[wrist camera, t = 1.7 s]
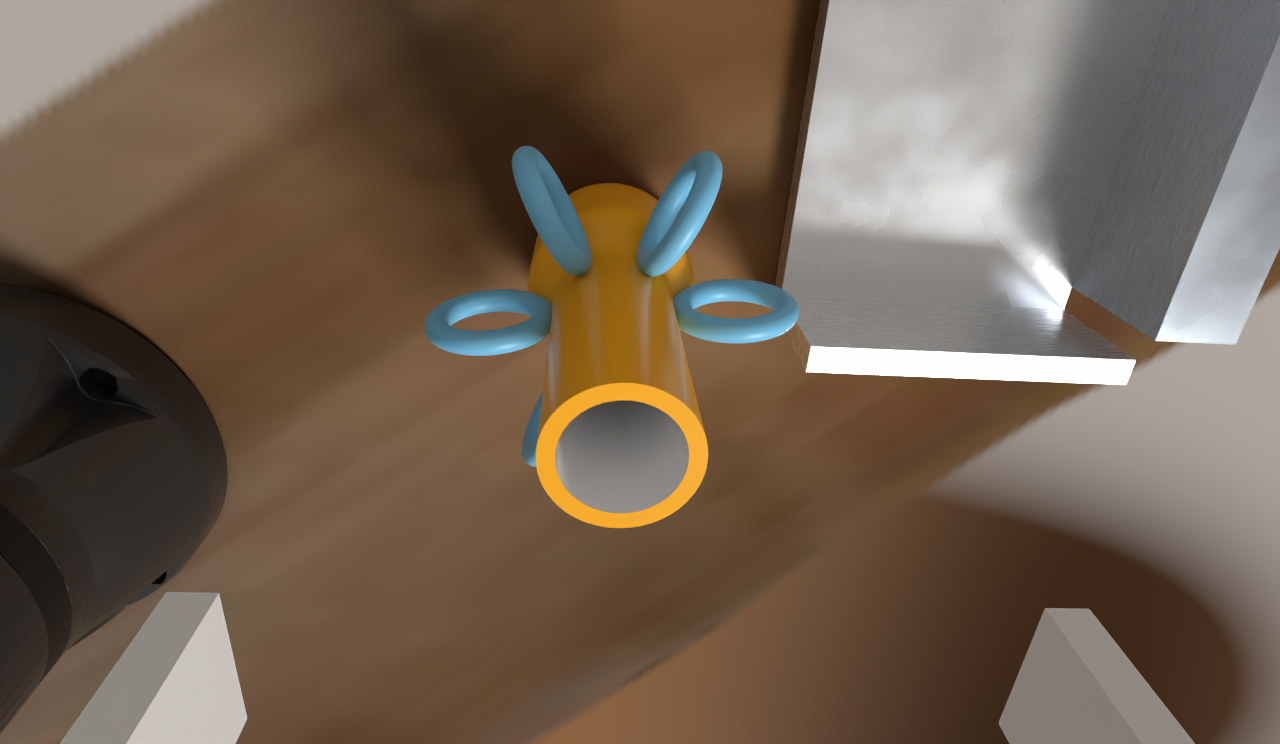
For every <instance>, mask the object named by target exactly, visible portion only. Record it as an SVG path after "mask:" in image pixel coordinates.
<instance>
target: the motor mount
mask: <svg viewBox="0 0 1280 744" xmlns="http://www.w3.org/2000/svg"><path fill="white" fill-rule="evenodd" d="M1279 248H1280V0H820V4H819V11H818V17H817V23H816V29H815V36H814V42H813V48H812V55H811V61H810V67H809V73H808V80H807V86H806V92H805V99H804V105H803V111H802V118H801V124H800V130H799V136H798V143H797V149H796V155H795V162H794V168H793V174H792V180H791V187H790V193H789V199H788V206H787V212H786V218H785V224H784V231H783V237H782V243H781V250H780V256H779V262H778V269H777V275H776V281H775V286H776V287H779V288H781V289H783V290H785V291H786V292H788V293H789V294H790V295H791V296H793V298H794V299H795V300H796V302H797V304H798V307H799V316H798V319H797V321H796V323H795V324H794V326H793V327H792V328H791V329H789V330H788V331H787V332H785V334H786V336H787V338H788V340H789V341H790V343H791V345H792V347H793V349H794V351H795V352H796V354H797V356H798V358H799V360H800V362H801V363H802V365H803V367H804V369H805V371H806V372H820V373H845V374H870V375H895V376H920V377H945V378H970V379H995V380H1020V381H1045V382H1070V383H1095V384H1120V385H1126V384H1127V382H1128V379H1129V377H1130V374H1131V372H1132V369H1133V367H1134V364H1135V362H1136V360H1135V359H1134V358H1132V357H1131V356H1129V355H1128V354H1126V353H1125V352H1124V351H1122V350H1121V349H1119V348H1118V347H1116V346H1115V345H1114V344H1112V343H1111V342H1109V341H1108V340H1106V339H1105V338H1104V337H1102V336H1101V335H1099V334H1098V333H1096V332H1095V331H1094V330H1092V329H1091V328H1089V327H1088V326H1087V325H1085V324H1084V323H1082V322H1081V321H1079V320H1078V319H1077V318H1075V317H1074V316H1072V315H1071V314H1069V313H1068V312H1067V311H1065V310H1064V308H1065V305H1066V302H1067V299H1068V296H1069V293H1070V290H1071V288H1074V289H1075V290H1077V291H1079V292H1080V293H1082V294H1083V295H1085V296H1086V297H1088V298H1089V299H1091V300H1093V301H1094V302H1096V303H1097V304H1099V305H1100V306H1102V307H1103V308H1105V309H1107V310H1108V311H1110V312H1111V313H1113V314H1114V315H1116V316H1117V317H1119V318H1121V319H1122V320H1124V321H1125V322H1127V323H1128V324H1130V325H1131V326H1133V327H1135V328H1136V329H1138V330H1139V331H1141V332H1142V333H1144V334H1145V335H1147V336H1149V337H1150V338H1152V339H1153V340H1155V341H1170V342H1192V343H1214V344H1236V342H1237V340H1238V338H1239V335H1240V333H1241V331H1242V329H1243V327H1244V325H1245V322H1246V320H1247V318H1248V316H1249V314H1250V312H1251V309H1252V307H1253V305H1254V303H1255V301H1256V299H1257V296H1258V294H1259V292H1260V290H1261V288H1262V285H1263V283H1264V281H1265V279H1266V277H1267V275H1268V272H1269V270H1270V268H1271V266H1272V264H1273V261H1274V259H1275V257H1276V255H1277V253H1278V251H1279Z"/></svg>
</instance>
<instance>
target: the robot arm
mask: <svg viewBox="0 0 1280 744" xmlns="http://www.w3.org/2000/svg"><path fill="white" fill-rule="evenodd" d="M226 489H227V462H226V455H225V450H224V446H223V442H222V439H221V436H220V433H219V430H218V428H217V426H216V423H215V421H214V419H213V417H212V415H211V413H210V411H209V409H208V408H207V406H206V404H205V403H204V401H203V400H202V398H201V397H200V395H199V394H198V392H197V391H196V390H195V388H194V387H193V386H192V384H191V383H190V382H189V381H188V379H187V378H186V377H185V376H184V375H183V374H182V373H181V372H180V370H179V369H178V368H177V367H176V366H175V365H174V364H173V363H172V362H171V361H170V360H169V359H168V358H166V357H165V356H164V355H163V354H162V353H161V352H160V351H158V350H157V349H156V348H155V347H154V346H152V345H151V344H150V343H149V342H147V341H146V340H145V339H143V338H142V337H141V336H139V335H138V334H136V333H135V332H133V331H132V330H130V329H129V328H127V327H125V326H124V325H122V324H120V323H119V322H117V321H115V320H113V319H111V318H110V317H108V316H106V315H104V314H102V313H100V312H98V311H96V310H93V309H91V308H89V307H87V306H84V305H82V304H79V303H77V302H74V301H72V300H69V299H66V298H63V297H60V296H57V295H53V294H50V293H46V292H42V291H38V290H33V289H28V288H23V287H16V286H9V285H0V734H1V733H2V732H3V730H4V729H5V728H6V727H7V725H8V724H9V723H10V721H11V720H12V719H13V718H14V716H15V715H16V714H17V712H18V711H19V710H20V708H21V707H22V706H23V705H24V703H25V702H26V701H27V699H28V698H29V697H30V696H31V694H32V693H33V692H34V690H35V689H36V687H37V686H38V685H39V684H40V682H41V681H42V680H43V679H44V677H45V676H46V675H47V674H48V672H49V671H50V670H51V669H52V667H53V666H54V665H55V664H56V662H57V661H58V660H59V658H60V657H61V656H62V655H63V653H64V652H65V651H66V650H68V649H69V648H71V647H72V646H74V645H75V644H77V643H78V642H80V641H81V640H83V639H84V638H86V637H87V636H89V635H90V634H92V633H93V632H95V631H96V630H97V629H99V628H100V627H102V626H103V625H104V624H106V623H107V622H109V621H110V620H111V619H113V618H114V617H115V616H116V615H117V614H119V613H120V612H121V611H122V610H123V609H124V608H125V607H126V606H127V605H129V604H132V603H134V602H137V601H138V600H140V599H142V598H144V597H146V596H148V595H149V594H151V593H153V592H154V591H156V590H157V589H159V588H160V587H161V586H163V585H164V584H165V583H167V582H168V581H169V580H170V579H172V578H173V577H174V576H175V575H176V574H177V573H178V572H179V571H180V570H181V569H182V568H183V567H184V566H185V565H186V564H187V563H188V561H189V560H190V559H191V557H192V556H193V555H194V553H195V552H196V550H197V549H198V548H199V546H200V545H201V543H202V542H203V540H204V539H205V538H206V536H207V535H208V533H209V532H210V530H211V529H212V527H213V526H214V524H215V522H216V521H217V518H218V516H219V514H220V512H221V509H222V506H223V503H224V499H225V495H226ZM246 720H247V715H246V711H245V706H244V702H243V697H242V693H241V689H240V684H239V680H238V675H237V671H236V666H235V662H234V658H233V653H232V649H231V644H230V640H229V635H228V631H227V627H226V622H225V618H224V613H223V609H222V604H221V600H220V596H219V593H189V592H166V593H165V595H164V596H163V598H162V599H161V600H160V602H159V603H158V605H157V606H156V608H155V609H154V610H153V612H152V613H151V615H150V616H149V617H148V619H147V620H146V622H145V623H144V625H143V626H142V627H141V629H140V630H139V632H138V633H137V635H136V636H135V637H134V639H133V640H132V642H131V643H130V645H129V646H128V647H127V649H126V650H125V652H124V653H123V655H122V656H121V657H120V659H119V660H118V662H117V663H116V664H115V666H114V667H113V669H112V670H111V672H110V673H109V674H108V676H107V677H106V679H105V680H104V682H103V683H102V684H101V686H100V687H99V689H98V690H97V692H96V693H95V694H94V696H93V697H92V699H91V700H90V702H89V703H88V704H87V706H86V707H85V709H84V710H83V711H82V713H81V714H80V716H79V717H78V719H77V720H76V721H75V723H74V724H73V726H72V727H71V729H70V730H69V731H68V733H67V734H66V736H65V737H64V739H63V740H62V741H61V743H60V744H235V743H236V741H237V739H238V737H239V735H240V733H241V731H242V729H243V726H244V724H245V722H246ZM999 725H1000V727H1001V729H1002V730H1003V732H1004V734H1005V736H1006V738H1007V740H1008V742H1009V743H1010V744H1195V743H1194V742H1193V741H1192V739H1191V738H1190V737H1189V736H1188V734H1187V733H1186V732H1185V731H1184V729H1183V728H1182V727H1181V726H1180V724H1179V723H1178V722H1177V720H1176V719H1175V718H1174V716H1173V715H1172V714H1171V713H1170V711H1169V710H1168V709H1167V708H1166V706H1165V705H1164V704H1163V702H1162V701H1161V700H1160V699H1159V697H1158V696H1157V695H1156V693H1155V692H1154V691H1153V690H1152V688H1151V687H1150V686H1149V685H1148V683H1147V682H1146V681H1145V679H1144V678H1143V677H1142V676H1141V674H1140V673H1139V672H1138V671H1137V669H1136V668H1135V667H1134V665H1133V664H1132V663H1131V662H1130V660H1129V659H1128V658H1127V656H1126V655H1125V654H1124V653H1123V651H1122V650H1121V649H1120V648H1119V646H1118V645H1117V644H1116V642H1115V641H1114V640H1113V639H1112V637H1111V636H1110V635H1109V633H1108V632H1107V631H1106V630H1105V628H1104V627H1103V626H1102V625H1101V623H1100V622H1099V621H1098V619H1097V618H1096V617H1095V616H1094V614H1093V613H1092V612H1091V611H1090V609H1064V608H1063V609H1062V608H1045V610H1044V612H1043V614H1042V617H1041V619H1040V622H1039V624H1038V627H1037V629H1036V632H1035V634H1034V637H1033V639H1032V642H1031V644H1030V647H1029V649H1028V652H1027V654H1026V656H1025V659H1024V662H1023V664H1022V667H1021V669H1020V671H1019V674H1018V676H1017V679H1016V681H1015V684H1014V686H1013V689H1012V691H1011V694H1010V696H1009V698H1008V701H1007V703H1006V706H1005V708H1004V711H1003V713H1002V716H1001V718H1000V721H999Z"/></svg>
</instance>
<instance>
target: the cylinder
mask: <svg viewBox="0 0 1280 744" xmlns="http://www.w3.org/2000/svg"><path fill="white" fill-rule="evenodd" d="M512 170H513V175H514V179H515V182H516V185H517V188H518V191H519V194H520V196H521V199H522V201H523V204H524V206H525V208H526V210H527V212H528V215H529V217H530V219H531V221H532V223H533V225H534V227H535V229H536V230H537V232H538V236H537V239H536V243H535V248H534V253H533V257H532V262H531V267H530V272H529V282H528V290H529V292H526V291H520V290H507V289H499V290H485V291H478V292H473V293H468V294H464V295H461V296H457V297H455V298H452V299H449V300H447V301H445V302H443V303H441V304H440V305H438V306H437V307H436V308H434V309H433V310H432V311H431V312H430V313H429V315H428V316H427V318H426V321H425V333H426V335H427V337H428V339H429V340H430V341H431V342H432V343H433V344H434V345H435V346H437V347H439V348H440V349H443V350H445V351H448V352H451V353H456V354H461V355H471V356H486V355H497V354H504V353H509V352H513V351H517V350H521V349H524V348H526V347H529V346H531V345H533V344H535V343H537V342H539V341H541V340H542V339H544V338H545V337H546V336H547V337H548V338H549V345H548V354H547V363H546V371H545V380H544V388H543V392H542V394H541V396H540V398H539V400H538V402H537V404H536V406H535V408H534V410H533V413H532V415H531V418H530V420H529V423H528V425H527V428H526V432H525V435H524V439H523V444H522V456H523V459H524V461H525V462H526V463H527V464H529V465H530V466H535V467H537V472H538V475H539V478H540V481H541V483H542V485H543V487H544V489H545V491H546V492H547V494H548V495H549V496H550V498H551V499H552V500H553V501H554V502H555V503H556V504H557V505H558V506H559V507H560V508H561V509H563V510H564V511H565V512H567V513H568V514H570V515H571V516H573V517H575V518H577V519H579V520H581V521H584V522H587V523H590V524H593V525H597V526H602V527H610V528H630V527H637V526H642V525H646V524H650V523H653V522H655V521H658V520H660V519H663V518H665V517H667V516H668V515H670V514H672V513H673V512H675V511H676V510H678V509H679V508H680V507H682V506H683V505H684V504H685V503H686V502H687V501H688V500H689V499H690V498H691V497H692V495H693V494H694V493H695V491H696V490H697V489H698V487H699V485H700V483H701V481H702V479H703V477H704V474H705V471H706V467H707V461H708V446H707V440H706V436H705V432H704V428H703V424H702V420H701V416H700V412H699V408H698V404H697V400H696V395H695V391H694V387H693V383H692V379H691V375H690V371H689V367H688V363H687V359H686V355H685V351H684V347H683V342H682V338H681V334H680V330H682V331H684V332H686V333H688V334H690V335H692V336H694V337H697V338H700V339H704V340H708V341H714V342H721V343H752V342H759V341H764V340H768V339H771V338H774V337H777V336H779V335H782V334H783V333H785V332H787V331H788V330H789V329H791V328H792V327H793V326H794V324H795V323H796V321H797V319H798V316H799V307H798V304H797V302H796V300H795V299H794V298H793V296H791V295H790V294H789V293H788V292H786V291H785V290H783V289H781V288H779V287H776V286H774V285H771V284H767V283H763V282H758V281H752V280H742V279H722V280H712V281H706V282H702V283H698V284H694V276H693V270H692V265H691V262H690V259H689V256H688V253H687V249H688V248H689V246H690V245H691V243H692V242H693V240H694V239H695V237H696V236H697V234H698V232H699V231H700V229H701V227H702V226H703V224H704V222H705V220H706V218H707V216H708V214H709V212H710V210H711V208H712V206H713V203H714V201H715V199H716V196H717V193H718V190H719V187H720V183H721V179H722V163H721V160H720V158H719V157H718V156H717V155H716V154H715V153H713V152H711V151H702V152H699V153H697V154H695V155H694V156H692V157H691V158H690V159H689V160H688V161H687V162H686V163H685V164H684V165H683V166H682V167H681V168H680V170H679V171H678V172H677V173H676V175H675V176H674V177H673V179H672V180H671V182H670V183H669V185H668V186H667V188H666V189H665V191H664V192H663V194H662V196H661V197H660V199H659V201H658V200H657V199H656V198H654V197H653V196H652V195H650V194H649V193H647V192H645V191H643V190H641V189H638V188H636V187H633V186H629V185H625V184H620V183H600V184H594V185H589V186H586V187H583V188H580V189H578V190H576V191H574V192H572V193H570V194H569V195H568V194H567V192H566V190H565V189H564V187H563V185H562V183H561V181H560V180H559V178H558V176H557V175H556V173H555V171H554V170H553V168H552V167H551V165H550V164H549V162H548V161H547V160H546V158H545V157H544V156H543V155H542V154H541V153H540V152H539V151H538V150H537V149H535V148H534V147H531V146H522V147H520V148H518V149H517V150H516V151H515V153H514V155H513V158H512ZM683 204H684V205H683ZM682 206H683V207H682ZM681 208H682V209H681ZM680 209H681V211H680ZM679 211H680V212H679ZM678 213H679V214H678ZM677 214H678V216H677ZM676 216H677V218H676ZM675 218H676V219H675ZM722 301H741V302H750V303H755V304H759V305H763V306H765V307H768V308H770V309H772V310H773V312H771V313H769V314H766V315H763V316H759V317H753V318H742V319H730V318H719V317H713V316H709V315H705V314H702V313H700V312H697V311H696V310H694V309H695V308H697V307H699V306H702V305H705V304H709V303H714V302H722ZM489 312H517V313H522V314H526V315H529V316H531V318H530V319H528V320H527V321H525V322H523V323H520V324H517V325H514V326H511V327H507V328H502V329H496V330H486V331H471V330H462V329H457V328H454V327H451V325H452V324H453V323H455V322H457V321H459V320H461V319H463V318H466V317H469V316H473V315H477V314H482V313H489Z"/></svg>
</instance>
